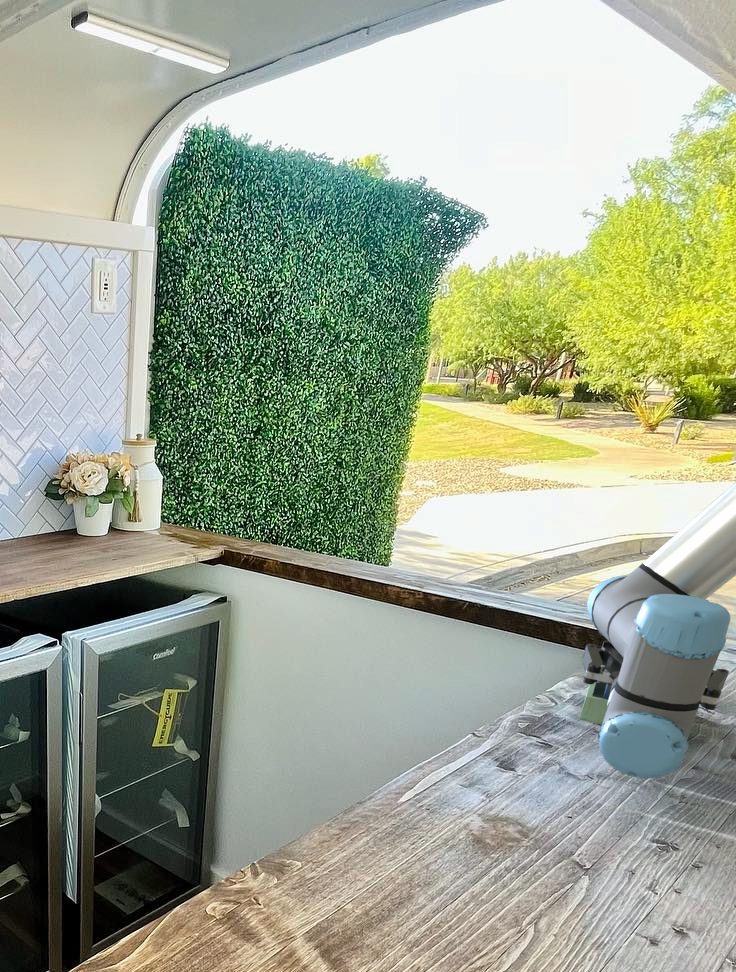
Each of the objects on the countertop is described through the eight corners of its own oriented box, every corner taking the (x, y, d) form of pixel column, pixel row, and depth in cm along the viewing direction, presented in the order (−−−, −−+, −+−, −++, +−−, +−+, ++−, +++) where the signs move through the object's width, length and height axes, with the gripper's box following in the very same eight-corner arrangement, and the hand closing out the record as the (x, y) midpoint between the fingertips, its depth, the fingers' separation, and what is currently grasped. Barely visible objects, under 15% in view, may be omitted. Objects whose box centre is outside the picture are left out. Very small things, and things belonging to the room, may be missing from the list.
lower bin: (685, 716, 111) (694, 690, 109) (684, 747, 103) (694, 720, 101) (586, 694, 118) (594, 669, 116) (577, 722, 110) (586, 696, 108)
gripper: (539, 706, 101) (561, 655, 118) (748, 756, 89) (740, 691, 105) (554, 654, 99) (574, 609, 115) (773, 699, 86) (760, 641, 102)
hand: (654, 648), depth 110 cm, fingers closed on upper bin, 8 cm apart
